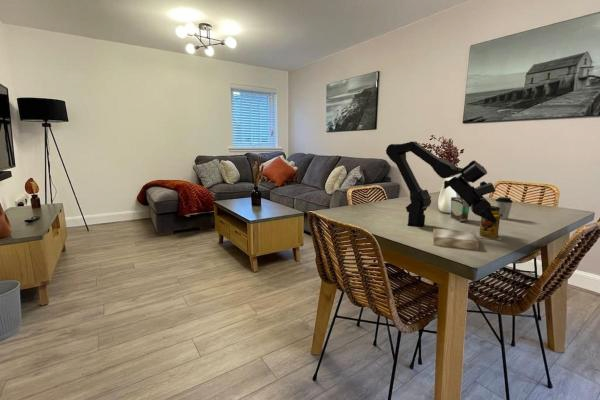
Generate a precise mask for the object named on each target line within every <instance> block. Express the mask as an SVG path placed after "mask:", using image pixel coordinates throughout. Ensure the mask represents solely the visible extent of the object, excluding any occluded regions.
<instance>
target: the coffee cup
mask: <svg viewBox="0 0 600 400" xmlns="http://www.w3.org/2000/svg"><path fill="white" fill-rule="evenodd" d="M512 205H513V200H512V199H511V197H506V196H503V197H502V196H499V197H498V198H496V199H495V206H496V207H499V208H500V210H499V214H500V220H502V221H504V220H508V219H509V215H510V212H511V208H512Z"/></svg>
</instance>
